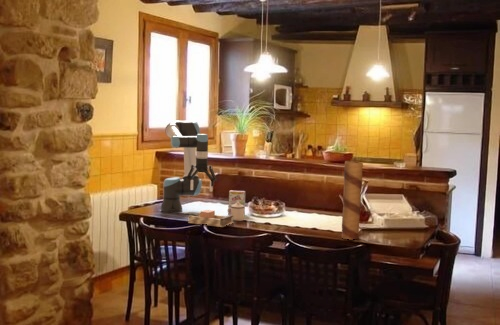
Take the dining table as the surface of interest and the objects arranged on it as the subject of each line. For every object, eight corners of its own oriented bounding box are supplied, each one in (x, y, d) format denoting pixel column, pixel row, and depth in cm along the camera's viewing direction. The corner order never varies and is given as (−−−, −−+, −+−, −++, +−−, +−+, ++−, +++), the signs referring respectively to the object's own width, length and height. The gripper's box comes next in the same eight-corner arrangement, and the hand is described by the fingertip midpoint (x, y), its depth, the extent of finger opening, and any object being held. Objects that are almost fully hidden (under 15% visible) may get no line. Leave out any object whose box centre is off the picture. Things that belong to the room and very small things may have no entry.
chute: (188, 222, 366) (188, 214, 365) (199, 219, 378) (199, 211, 378) (222, 227, 355) (222, 218, 354) (233, 223, 367) (233, 215, 367)
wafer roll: (351, 235, 340) (354, 160, 336) (362, 239, 331) (366, 162, 327) (337, 237, 335) (340, 160, 331) (348, 241, 326) (351, 162, 322)
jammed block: (200, 220, 365) (200, 211, 365) (206, 218, 372) (206, 209, 372) (208, 221, 363) (208, 212, 362) (214, 219, 370) (214, 210, 369)
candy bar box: (228, 214, 396) (228, 191, 394) (228, 213, 401) (229, 190, 399) (244, 215, 395) (244, 191, 393) (244, 214, 400) (245, 190, 398)
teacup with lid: (246, 219, 382) (247, 201, 381) (240, 221, 374) (240, 203, 373) (231, 217, 388) (231, 200, 387) (224, 219, 380) (224, 201, 379)
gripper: (181, 157, 371) (181, 189, 373) (217, 159, 363) (216, 192, 365) (186, 156, 378) (186, 188, 380) (222, 158, 370) (221, 191, 372)
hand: (201, 190), depth 372 cm, fingers open, 13 cm apart
